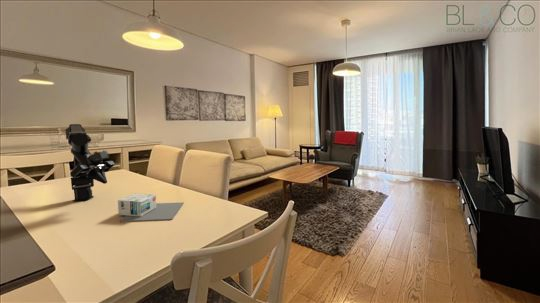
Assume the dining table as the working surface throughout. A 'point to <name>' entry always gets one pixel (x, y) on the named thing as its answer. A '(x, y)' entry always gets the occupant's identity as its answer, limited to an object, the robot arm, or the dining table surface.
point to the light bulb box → (137, 204)
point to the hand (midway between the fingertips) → (105, 183)
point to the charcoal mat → (157, 213)
